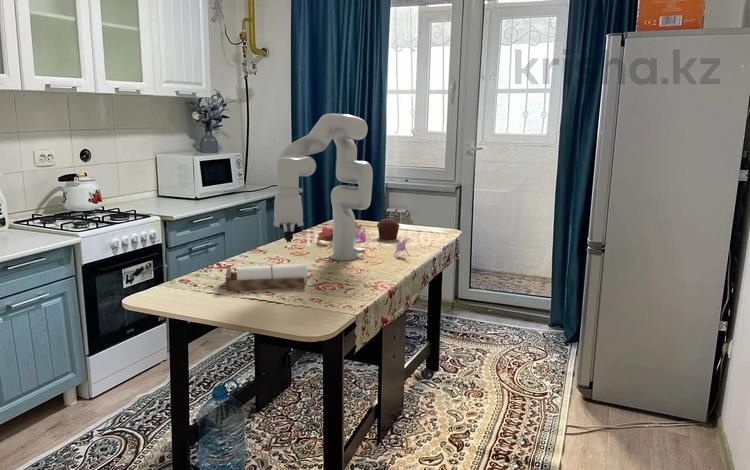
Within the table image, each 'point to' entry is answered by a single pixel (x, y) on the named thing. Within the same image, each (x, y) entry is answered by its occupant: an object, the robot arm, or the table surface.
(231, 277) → the U-rest
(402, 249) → the lily
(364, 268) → the table surface
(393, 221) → the muffin
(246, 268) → the cylindrical container
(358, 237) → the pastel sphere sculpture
